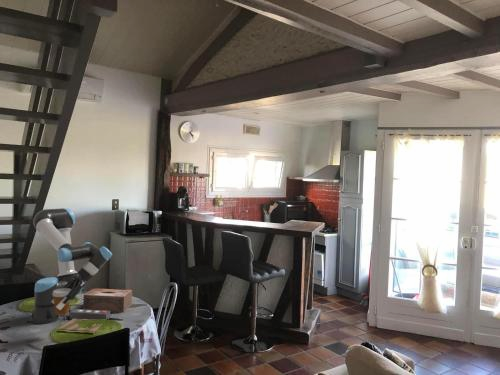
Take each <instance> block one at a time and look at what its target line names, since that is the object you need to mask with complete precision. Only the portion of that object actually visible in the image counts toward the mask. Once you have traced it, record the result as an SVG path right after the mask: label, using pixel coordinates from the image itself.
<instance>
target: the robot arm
mask: <svg viewBox="0 0 500 375" xmlns="http://www.w3.org/2000/svg"><path fill="white" fill-rule="evenodd" d="M32 220H33V221H32V224H33V227H34V229H35V230H36V231H37V233H40V234H42V235H43V237H44V238H45V239H46V240H47V241H48V243H50V245H51V246H52V247H53V248H54V250H56V258H57V264H58V271H59V272H58V274H57V275H56V277H55V276H50V277H44V278H41V279H39V280H37V281H35V284H34V290H33V291H34V302H33V303H34V305H33V306H34V308H33V310H32V312H31V316H30V322H31V323H32V324H35V325H36V324H37V325H43V324H45V325H46V324H51V323H55V322H57V321H58V320H60V318H61V315H56V314H55V306H54V298H53V295H52V293H53V291H54V290H56V289H60V288H69V289H71V291H70V292H69V294H68V295H66V297H65V298H64V299H63V300H62V301H61V302H60V303H59V304H58V305H57V306H56V307H57V308H58V309H59V310H61V309H62V308H63V307H64V306H65V305H66V303H67V302H68V301H69V300H70V301H71V300H74V299H75V297H76V296H77V295H79V294H80V293H82V290H83V289H84V286H86V283H85V282H89V281H90V280H91V279H92V278H93V276H95V275H96V274H98V273H99V270H101V268H103V267H104V265H105V264H106V263H107V262H108V261H109V260H110V259H111V258H112V256H113V253H112V252H111V251H110V250H109V249H108V248H107V247H106V246H101V247H100V248H99V247H98V246H96V245H95V244H93V243H91V242H89V241H87V242H84V243H82V245H78V246H74V245H72V238H71V231H72V230H73V227H74V225H75V223H76V216H75V214H74V212H73V211H72V210H71V209H70V208H63V207H62V208H49V209H48V208H46V209H42V210H40V211H38V212H36V214H35V215H34V217H33V219H32ZM86 259H87V261H86V263H85V264H83V266H82V268H80V269H79V270H78V271H77V270H75V263H74V262H75V261H80V260H86ZM88 259H89V260H88Z"/></svg>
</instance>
